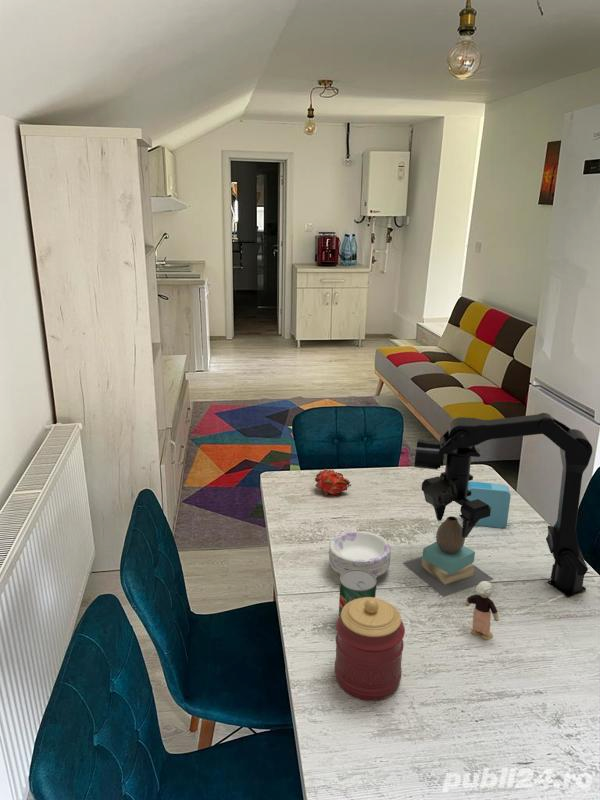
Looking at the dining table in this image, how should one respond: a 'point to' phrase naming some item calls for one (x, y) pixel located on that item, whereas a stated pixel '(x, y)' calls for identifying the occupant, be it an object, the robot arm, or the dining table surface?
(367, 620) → the canister
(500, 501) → the light blue flat block
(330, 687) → the dining table surface
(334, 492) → the dragon fruit
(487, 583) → the grandmother figurine
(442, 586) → the charcoal mat
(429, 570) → the beech block
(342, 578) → the canned tomato
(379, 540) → the paper bowls
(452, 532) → the vase
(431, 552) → the teal block
